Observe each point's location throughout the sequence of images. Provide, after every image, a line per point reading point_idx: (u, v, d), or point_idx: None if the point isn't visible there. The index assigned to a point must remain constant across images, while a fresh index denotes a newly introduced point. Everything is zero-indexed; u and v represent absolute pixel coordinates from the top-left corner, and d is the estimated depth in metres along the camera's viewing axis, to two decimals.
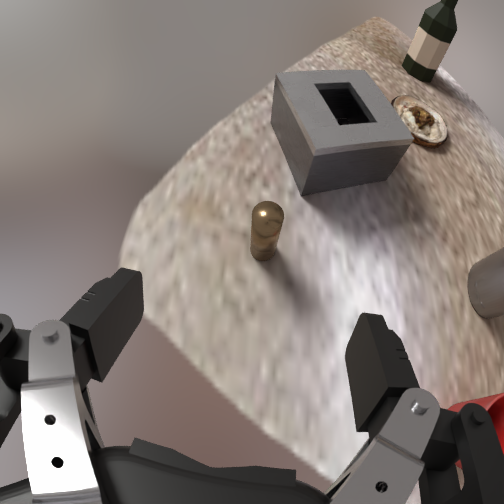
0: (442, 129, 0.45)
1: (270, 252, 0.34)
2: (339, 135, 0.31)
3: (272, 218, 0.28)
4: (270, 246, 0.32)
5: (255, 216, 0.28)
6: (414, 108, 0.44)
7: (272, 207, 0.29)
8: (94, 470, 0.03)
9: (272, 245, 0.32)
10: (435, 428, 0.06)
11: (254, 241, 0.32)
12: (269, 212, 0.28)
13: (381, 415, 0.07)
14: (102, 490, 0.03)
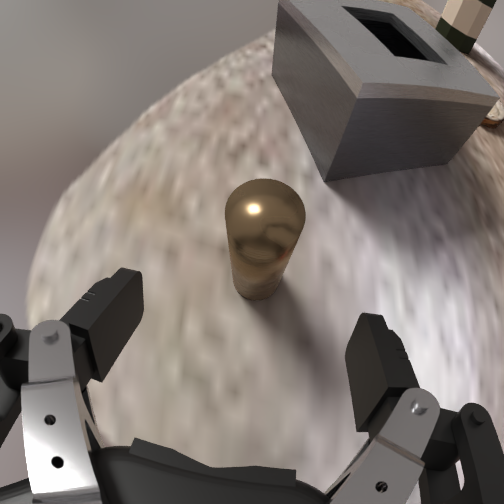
0: (497, 106, 0.28)
1: (270, 288, 0.17)
2: (398, 68, 0.14)
3: (276, 220, 0.11)
4: (270, 280, 0.15)
5: (233, 214, 0.11)
6: None
7: (276, 194, 0.11)
8: (94, 470, 0.03)
9: (274, 278, 0.15)
10: (435, 428, 0.06)
11: (236, 270, 0.15)
12: (268, 206, 0.11)
13: (381, 415, 0.07)
14: (102, 490, 0.03)
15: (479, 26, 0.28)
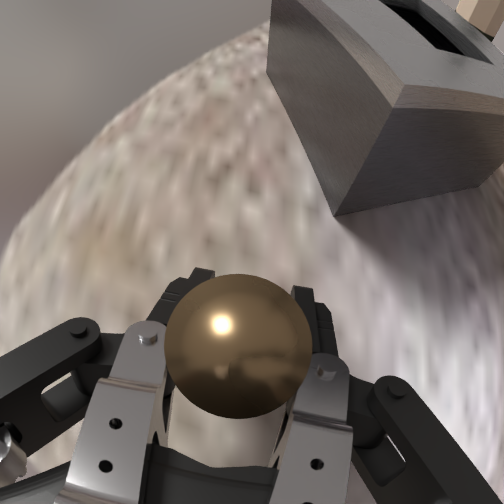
0: None
1: None
2: (445, 66, 0.09)
3: (258, 363, 0.06)
4: None
5: (179, 349, 0.06)
6: None
7: (259, 307, 0.06)
8: (142, 485, 0.03)
9: None
10: None
11: None
12: (243, 333, 0.06)
13: None
14: None
15: (497, 23, 0.23)
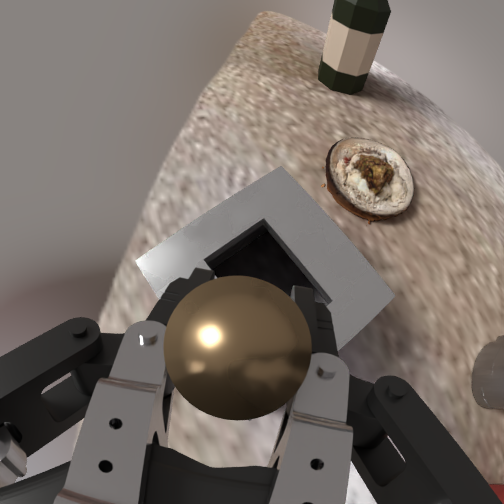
0: (404, 175, 0.36)
1: None
2: None
3: (258, 364, 0.06)
4: None
5: (178, 351, 0.06)
6: (361, 162, 0.34)
7: (259, 309, 0.06)
8: (142, 485, 0.03)
9: None
10: None
11: None
12: (242, 335, 0.06)
13: None
14: None
15: (370, 59, 0.36)
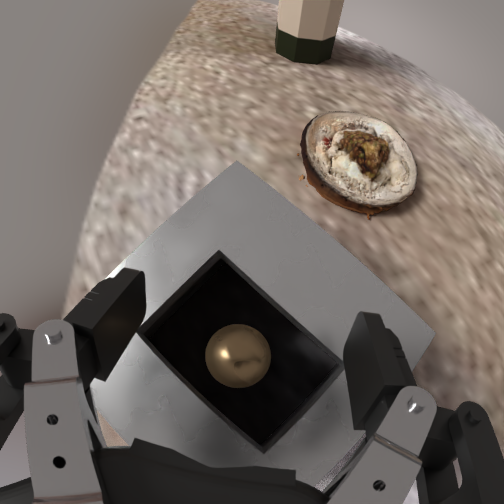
0: (401, 150, 0.28)
1: None
2: None
3: (246, 363, 0.13)
4: None
5: (212, 358, 0.13)
6: (347, 141, 0.26)
7: (247, 339, 0.14)
8: (96, 470, 0.03)
9: None
10: (432, 426, 0.06)
11: None
12: (240, 350, 0.13)
13: (378, 413, 0.07)
14: (104, 490, 0.03)
15: (335, 18, 0.28)
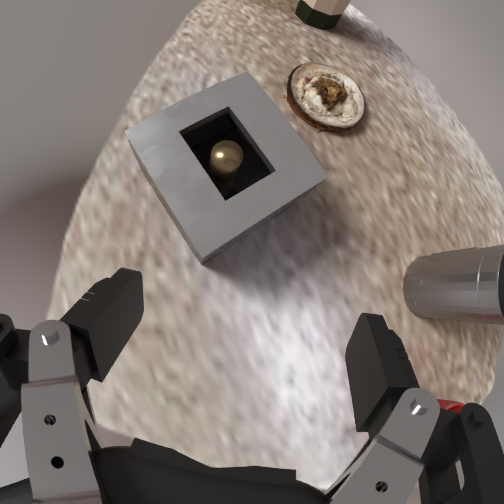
0: (357, 100, 0.40)
1: (224, 190, 0.33)
2: (228, 219, 0.26)
3: (230, 158, 0.27)
4: (224, 184, 0.31)
5: (214, 152, 0.27)
6: (319, 83, 0.38)
7: (233, 148, 0.27)
8: (94, 470, 0.03)
9: (226, 184, 0.31)
10: (435, 428, 0.06)
11: (210, 176, 0.31)
12: (229, 152, 0.27)
13: (381, 415, 0.07)
14: (102, 490, 0.03)
15: (345, 3, 0.36)
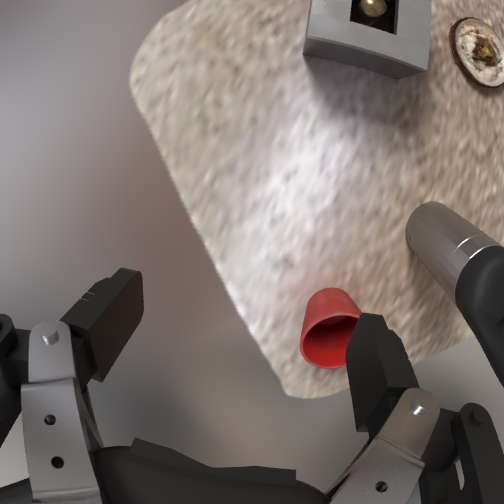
0: (500, 77, 0.28)
1: None
2: (342, 30, 0.24)
3: (374, 7, 0.23)
4: (359, 22, 0.27)
5: None
6: (482, 39, 0.26)
7: (381, 4, 0.23)
8: (94, 470, 0.03)
9: (361, 23, 0.27)
10: (435, 428, 0.06)
11: (354, 10, 0.27)
12: (376, 4, 0.23)
13: (381, 415, 0.07)
14: (102, 490, 0.03)
15: None
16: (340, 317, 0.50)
